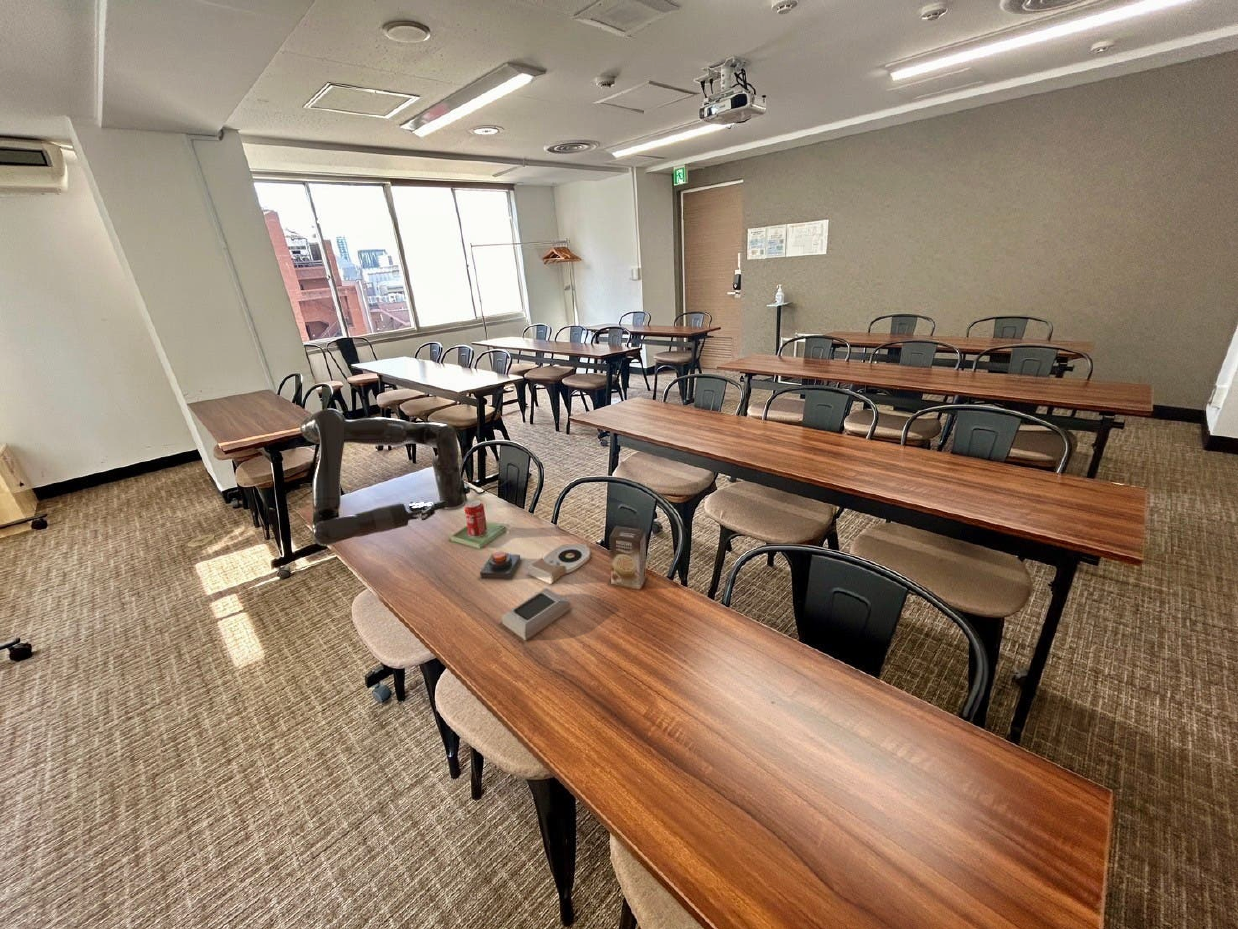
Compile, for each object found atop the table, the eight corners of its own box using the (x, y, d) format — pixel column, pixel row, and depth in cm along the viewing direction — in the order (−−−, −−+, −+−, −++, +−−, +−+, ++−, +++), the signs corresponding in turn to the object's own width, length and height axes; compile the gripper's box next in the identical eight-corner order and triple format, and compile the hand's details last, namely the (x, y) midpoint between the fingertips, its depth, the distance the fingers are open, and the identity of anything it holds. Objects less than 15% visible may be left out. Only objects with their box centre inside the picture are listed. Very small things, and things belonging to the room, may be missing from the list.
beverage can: (471, 530, 169) (465, 499, 164) (489, 528, 169) (484, 498, 165) (467, 539, 163) (461, 508, 159) (486, 538, 164) (480, 506, 159)
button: (496, 556, 147) (495, 551, 147) (507, 556, 147) (506, 551, 146) (492, 562, 144) (491, 557, 143) (503, 563, 144) (502, 558, 143)
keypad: (569, 598, 127) (523, 629, 117) (570, 609, 128) (525, 640, 118) (545, 584, 133) (500, 612, 123) (547, 595, 134) (502, 623, 124)
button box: (493, 559, 152) (491, 548, 150) (520, 560, 151) (519, 549, 149) (481, 578, 143) (479, 567, 141) (510, 579, 142) (508, 568, 140)
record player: (525, 564, 143) (569, 535, 158) (526, 573, 144) (569, 543, 159) (553, 577, 137) (597, 545, 152) (554, 586, 138) (597, 554, 153)
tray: (477, 522, 175) (477, 518, 174) (506, 530, 169) (505, 526, 168) (450, 540, 164) (450, 536, 163) (480, 548, 158) (479, 544, 158)
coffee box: (610, 584, 138) (607, 536, 131) (617, 571, 143) (615, 524, 137) (641, 589, 135) (639, 540, 129) (647, 576, 140) (646, 529, 134)
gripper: (392, 513, 140) (451, 498, 150) (381, 500, 150) (437, 487, 160) (396, 536, 142) (454, 520, 152) (385, 522, 152) (439, 508, 162)
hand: (445, 503), depth 156 cm, fingers closed
